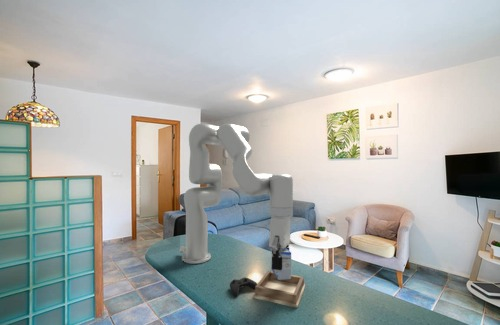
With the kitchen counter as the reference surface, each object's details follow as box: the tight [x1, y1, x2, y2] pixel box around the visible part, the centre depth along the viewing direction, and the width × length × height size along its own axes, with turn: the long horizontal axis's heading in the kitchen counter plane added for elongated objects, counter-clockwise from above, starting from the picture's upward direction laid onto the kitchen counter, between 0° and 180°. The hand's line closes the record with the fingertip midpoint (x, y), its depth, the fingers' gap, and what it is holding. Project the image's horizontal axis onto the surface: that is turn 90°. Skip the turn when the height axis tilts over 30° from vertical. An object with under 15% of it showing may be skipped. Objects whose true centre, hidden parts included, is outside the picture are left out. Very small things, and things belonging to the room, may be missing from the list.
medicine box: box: [270, 246, 292, 280], centre depth 80 cm, size 8×4×9 cm, turn 11°
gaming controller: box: [229, 277, 258, 298], centre depth 82 cm, size 10×5×6 cm
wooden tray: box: [252, 270, 306, 309], centre depth 80 cm, size 14×14×3 cm
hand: (281, 263), depth 80 cm, fingers closed on medicine box, 9 cm apart
